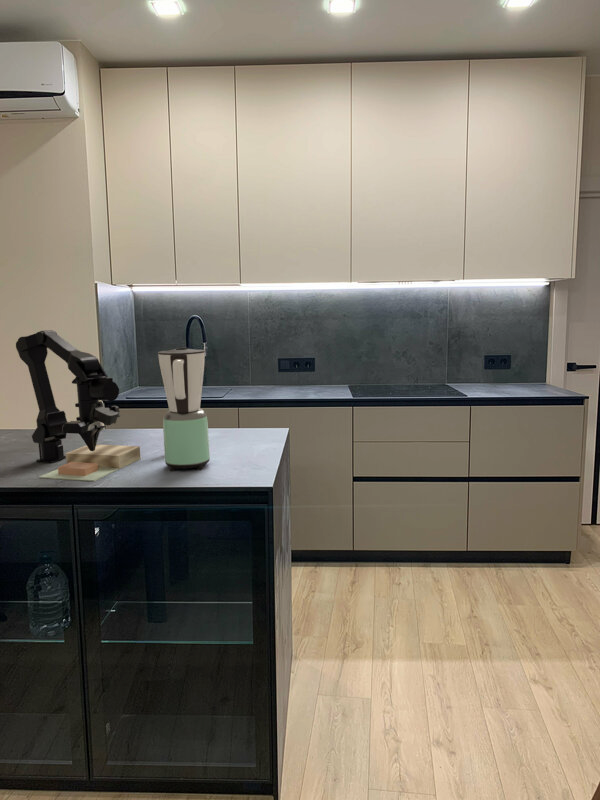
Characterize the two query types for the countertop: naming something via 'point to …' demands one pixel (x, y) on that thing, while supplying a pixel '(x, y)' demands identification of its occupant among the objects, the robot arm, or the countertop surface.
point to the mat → (91, 477)
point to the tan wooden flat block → (105, 455)
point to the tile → (78, 468)
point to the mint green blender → (184, 409)
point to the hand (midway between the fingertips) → (92, 450)
